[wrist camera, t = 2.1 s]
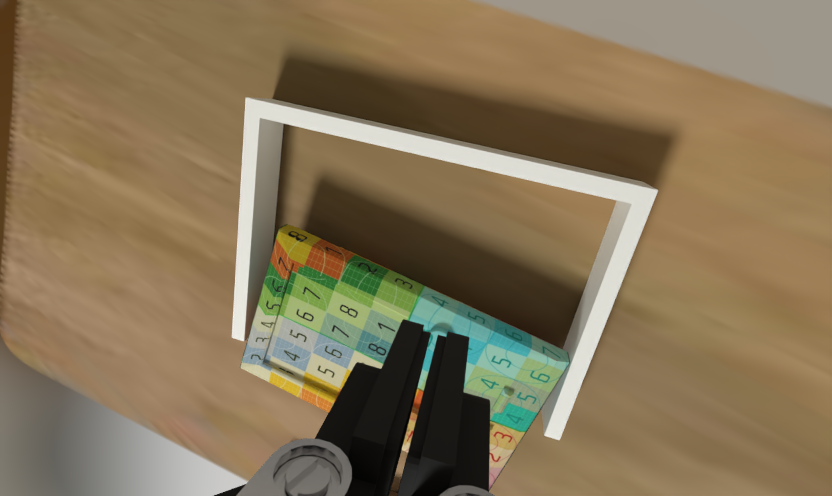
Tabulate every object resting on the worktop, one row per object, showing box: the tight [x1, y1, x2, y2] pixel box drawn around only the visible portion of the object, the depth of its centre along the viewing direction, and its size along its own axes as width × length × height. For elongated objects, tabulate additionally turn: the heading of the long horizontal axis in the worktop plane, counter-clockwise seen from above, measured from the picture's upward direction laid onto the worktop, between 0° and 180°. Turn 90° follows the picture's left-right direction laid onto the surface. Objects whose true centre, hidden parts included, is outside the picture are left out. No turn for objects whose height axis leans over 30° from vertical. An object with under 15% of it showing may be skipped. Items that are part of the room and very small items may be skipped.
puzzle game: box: [240, 224, 570, 490], centre depth 30 cm, size 12×5×20 cm
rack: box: [232, 97, 658, 440], centre depth 29 cm, size 24×17×3 cm
